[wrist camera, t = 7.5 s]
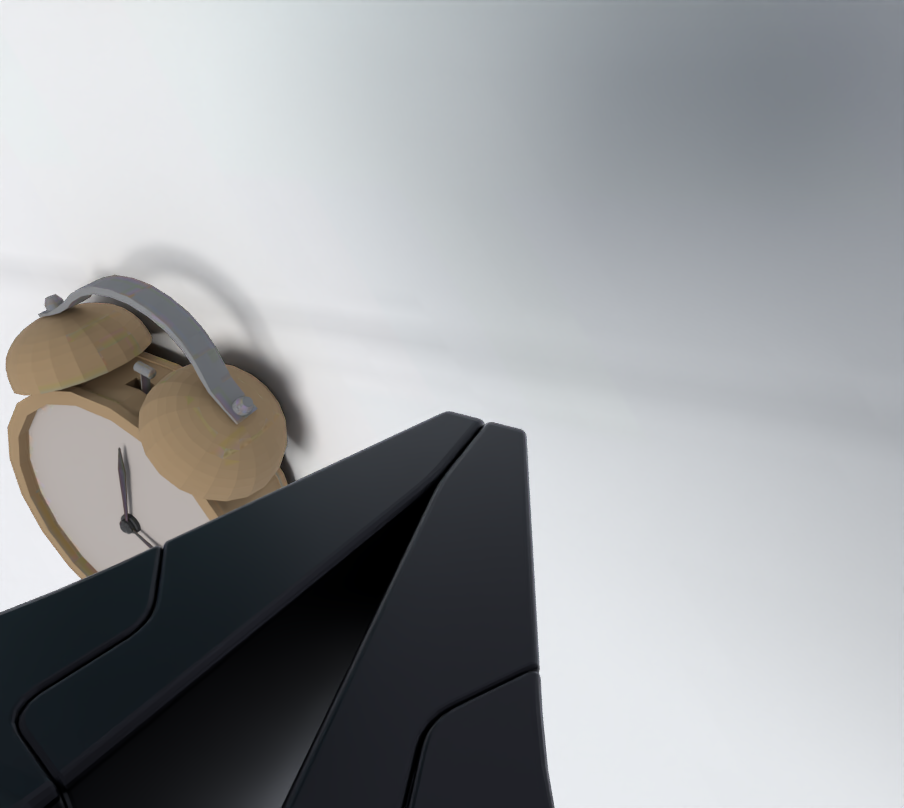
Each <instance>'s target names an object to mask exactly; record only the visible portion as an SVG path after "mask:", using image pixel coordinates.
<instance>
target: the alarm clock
mask: <svg viewBox="0 0 904 808" xmlns="http://www.w3.org/2000/svg"><path fill="white" fill-rule="evenodd" d="M92 294H95V295H100V296H106V297H111V298H114V299H116V300H119V301H121V302H124V303H126V304H129V305H130V306H132V307H133V308H135V309H137V310H138V311H140V312H141V313H143V314H144V315H146V316H147V317H149V318H150V319H151V320H152V321H153V322H155V323H156V324H157V325H158V326H159V327H161V328H162V329H163V330H164V331H165V332H167V334H168V335H169V336H170V337H171V338H172V339H173V340H174V341H175V343H176V344H177V345H178V346H179V347H180V348H181V350H182V351H183V352H184V354H185V355H186V357H187V358H188V360H189V361H190V363H191V364H189V365H187V366H184V367H182V366H180V365H179V364H176V363H173V362H171V361H168V360H165V359H163V358H160V357H157V356H155V355H152V354H149V353H146V352H144V350H145V349H146V348H147V347H148V346H149V345H150V344H151V340H152V336H151V334H150V332H149V331H148V329H147V327H146V326H145V325H144V324H143V322H142V321H141V320H140V319H139V318H138V317H137V316H135V315H134V314H133V313H131V312H130V311H128V310H126V309H124V308H122V307H120V306H117V305H114V304H108V303H83V304H79V303H81V302H83V301H84V300H86V299H88V298H90V297H91V295H92ZM45 307H46V309H47V310H46V311H44V312H42V313H40V314H38V315H39V317H41V318H39V319H37V320H36V321H34V322H33V323H31V324H30V325H29V326H27V327H26V328H25V329H24V330H23V331H22V332H21V333H20V334H19V335H18V336H17V337H16V338H15V340H14V341H13V343H12V345H11V347H10V349H9V351H8V354H7V357H6V372H7V376H8V380H9V382H10V384H11V387H12V389H13V391H14V393H16V394H20V395H30V396H28V397H27V398H25V399H23V400H22V401H20V402H18V403H17V405H16V407H15V410H14V412H13V415H12V417H11V420H10V422H9V425H8V441H9V456H10V461H11V464H12V467H13V470H14V473H15V476H16V479H17V482H18V485H19V488H20V490H21V493H22V496H23V497H24V499H25V501H26V503H27V505H28V506H29V508H30V510H31V512H32V514H33V515H34V517H35V519H36V521H37V523H38V524H39V526H40V528H41V530H42V531H43V533H44V534H45V535H46V537H47V538H48V539H49V541H50V542H51V543H52V545H53V546H54V547H55V549H56V550H57V551H58V553H59V554H60V555H61V557H62V558H63V559H64V561H65V562H66V563H67V564H68V566H69V567H70V568H71V569H72V570H73V571H74V572H75V573H76V574H77V575H78V576H79V577H80V578H81V579H83V578H86V577H88V576H90V575H92V574H95V573H97V572H99V571H102V570H104V569H106V568H108V567H111V566H113V565H115V564H118V563H120V562H122V561H124V560H126V559H128V558H131V557H133V556H135V555H137V554H139V553H141V552H143V551H146V550H148V549H150V548H152V547H154V546H160V547H162V549H163V545H164V543H165V542H166V541H168V540H170V539H172V538H174V537H176V536H179V535H181V534H183V533H185V532H187V531H189V530H191V529H194V528H196V527H198V526H200V525H202V524H204V523H206V522H209V521H211V520H213V519H215V518H217V517H219V516H222V515H224V514H226V513H228V512H230V511H232V510H234V509H237V508H239V507H241V506H243V505H245V504H247V503H250V502H252V501H254V500H256V499H258V498H260V497H262V496H265V495H267V494H269V493H271V492H273V491H275V490H277V489H280V488H282V487H284V486H286V485H288V483H287V480H286V478H285V475H284V473H283V471H282V470H281V468H280V465H281V462H282V459H283V456H284V453H285V449H286V446H287V430H286V419H285V417H284V414H283V412H282V409H281V406H280V404H279V402H278V401H277V399H276V398H275V397H274V395H273V394H272V393H271V391H270V390H269V389H268V387H267V386H265V385H264V384H263V383H262V382H260V381H259V380H258V379H257V378H256V377H254V376H253V375H252V374H250V373H248V372H246V371H243V370H241V369H239V368H237V367H235V366H232V365H227V364H225V363H224V361H223V360H222V358H221V356H220V354H219V352H218V350H217V348H216V346H215V345H214V343H213V342H212V340H211V339H210V338H209V336H208V335H207V333H206V332H205V330H204V329H203V328H202V327H201V326H200V324H199V323H198V322H197V321H196V320H195V319H194V318H193V316H192V315H191V314H190V313H189V312H188V311H187V310H185V309H184V308H183V307H182V306H181V305H179V304H178V303H177V302H176V301H174V300H173V299H172V298H171V297H169V296H168V295H166V294H165V293H163V292H161V291H160V290H158V289H157V288H155V287H154V286H152V285H150V284H147V283H145V282H142V281H139V280H137V279H134V278H130V277H123V276H117V275H113V276H108V277H103V278H101V279H98V280H96V281H94V282H92V283H90V284H88V285H86V286H84V287H82V288H80V289H78V290H76V291H75V292H73V293H71V294H70V295H69V296H68V297H67V299H66V300H65V301H63V299H62V298H60V297H59V296H57V295H56V294H55V295H52V296H49V297H47V298H45Z"/></svg>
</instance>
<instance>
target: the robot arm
mask: <svg viewBox="0 0 904 808" xmlns="http://www.w3.org/2000/svg"><path fill="white" fill-rule="evenodd" d="M539 669H540V667H539V649H538V632H537V614H536V596H535V578H534V561H533V543H532V525H531V508H530V490H529V472H528V454H527V437H526V433H525V432H524V431H523V430H521V429H518V428H514V427H510V426H506V425H502V424H498V423H494V422H489V423H486V424H484V422H483V421H482V420H481V419H478V418H474V417H471V416H467V415H463V414H459V413H455V412H450V411H448V412H444V413H441V414H439V415H437V416H435V417H432V418H430V419H428V420H426V421H424V422H422V423H420V424H417V425H415V426H413V427H411V428H409V429H407V430H404V431H402V432H400V433H398V434H396V435H394V436H392V437H389V438H387V439H385V440H383V441H381V442H379V443H376V444H374V445H372V446H370V447H368V448H366V449H364V450H361V451H359V452H357V453H355V454H353V455H351V456H349V457H346V458H344V459H342V460H340V461H338V462H336V463H333V464H331V465H329V466H327V467H325V468H323V469H321V470H318V471H316V472H314V473H312V474H310V475H308V476H305V477H303V478H301V479H299V480H297V481H295V482H293V483H290V484H288V485H286V486H284V487H282V488H280V489H277V490H275V491H273V492H271V493H269V494H267V495H265V496H262V497H260V498H258V499H256V500H254V501H252V502H250V503H247V504H245V505H243V506H241V507H239V508H237V509H234V510H232V511H230V512H228V513H226V514H224V515H222V516H219V517H217V518H215V519H213V520H211V521H209V522H206V523H204V524H202V525H200V526H198V527H196V528H194V529H191V530H189V531H187V532H185V533H183V534H181V535H179V536H176V537H174V538H172V539H170V540H168V541H166V542H165V543H164V545H163V549H162V547H160V546H154V547H152V548H150V549H148V550H146V551H143V552H141V553H139V554H137V555H135V556H133V557H131V558H128V559H126V560H124V561H122V562H120V563H118V564H115V565H113V566H111V567H108V568H106V569H104V570H102V571H99V572H97V573H95V574H92V575H90V576H88V577H86V578H83V579H81V580H79V581H77V582H74V583H72V584H70V585H67V586H65V587H63V588H61V589H58V590H56V591H53V592H51V593H48V594H46V595H43V596H40V597H38V598H35V599H33V600H30V601H28V602H25V603H23V604H20V605H18V606H15V607H13V608H10V609H8V610H5V611H3V612H0V808H554V802H553V797H552V791H551V785H550V779H549V773H548V765H547V755H546V745H545V734H544V724H543V713H542V695H541V678H540V675H539Z"/></svg>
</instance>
